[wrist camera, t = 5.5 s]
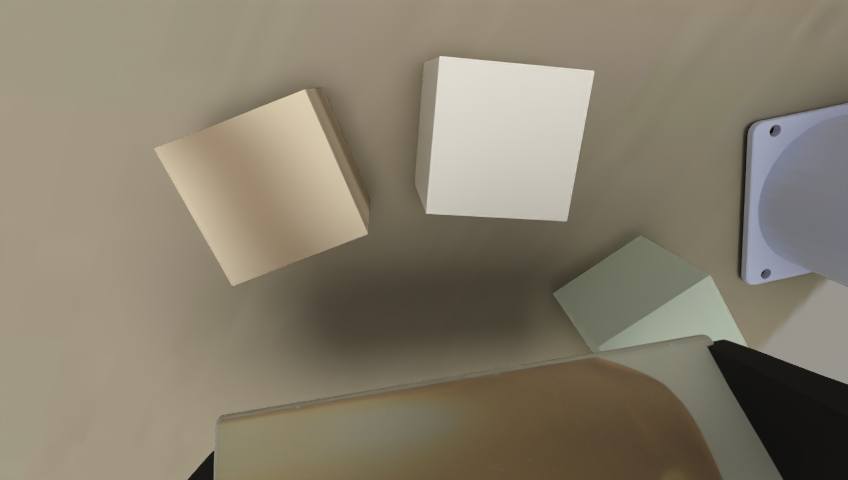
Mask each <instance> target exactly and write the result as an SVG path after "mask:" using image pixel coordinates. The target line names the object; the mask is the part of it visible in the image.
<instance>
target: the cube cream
mask: <svg viewBox="0 0 848 480" xmlns="http://www.w3.org/2000/svg"><path fill="white" fill-rule="evenodd" d="M593 77H594V71H592V70H581V69H570V68H560V67H549V66H539V65H528V64H518V63H507V62H497V61H486V60H476V59H465V58H455V57H444V56H439V57H436V58H434V59H432V60H429V61H427V62H424V67H423V80H422V93H421V106H420V119H419V132H418V145H417V158H416V171H415V187H416V189H417V192H418V194H419V197H420V200H421V202H422V205H423V207H424V210H425V212H426V214H440V215H458V216H477V217H495V218H514V219H532V220H550V221H567V218H568V213H569V208H570V202H571V197H572V191H573V186H574V180H575V175H576V169H577V164H578V159H579V153H580V148H581V142H582V137H583V131H584V126H585V120H586V115H587V110H588V104H589V99H590V93H591V88H592V82H593Z"/></svg>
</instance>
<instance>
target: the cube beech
mask: <svg viewBox="0 0 848 480" xmlns="http://www.w3.org/2000/svg"><path fill="white" fill-rule="evenodd" d="M155 151H156V153H157V155H158V157H159V158H160V160H161V162H162V164H163V165H164V167H165V169H166V171H167V172H168V174H169V176H170V178H171V179H172V181H173V183H174V185H175V186H176V188H177V190H178V192H179V193H180V195H181V197H182V199H183V200H184V202H185V204H186V206H187V207H188V209H189V211H190V213H191V214H192V216H193V218H194V220H195V221H196V223H197V225H198V227H199V228H200V230H201V232H202V234H203V236H204V237H205V239H206V241H207V243H208V244H209V246H210V248H211V250H212V251H213V253H214V255H215V257H216V258H217V260H218V262H219V264H220V265H221V267H222V269H223V271H224V272H225V274H226V276H227V278H228V279H229V281H230V283H231V285H232V286H235V285H237V284H240V283H242V282H245V281H248V280H250V279H253V278H255V277H258V276H261V275H263V274H266V273H268V272H271V271H274V270H276V269H279V268H281V267H284V266H287V265H289V264H292V263H294V262H297V261H300V260H302V259H305V258H307V257H310V256H313V255H315V254H318V253H320V252H323V251H326V250H328V249H331V248H333V247H336V246H339V245H341V244H344V243H346V242H349V241H352V240H354V239H357V238H359V237H362V236H365V235H367V234H368V229H369V211H370V198H369V196H368V193H367V191H366V189H365V186H364V184H363V182H362V179H361V177H360V175H359V172H358V170H357V167H356V165H355V163H354V160H353V158H352V156H351V153H350V151H349V149H348V146H347V144H346V141H345V139H344V137H343V134H342V132H341V130H340V127H339V125H338V123H337V120H336V118H335V115H334V113H333V111H332V108H331V106H330V104H329V101H328V99H327V97H326V94H325V92H324V89H323V87H322V88H312V89H304V90H302V91H299V92H297V93H294V94H292V95H289V96H287V97H284V98H281V99H279V100H276V101H274V102H271V103H269V104H266V105H264V106H261V107H259V108H256V109H254V110H251V111H249V112H246V113H243V114H241V115H238V116H236V117H233V118H231V119H228V120H226V121H223V122H221V123H218V124H216V125H213V126H211V127H208V128H206V129H203V130H200V131H198V132H195V133H193V134H190V135H188V136H185V137H183V138H180V139H178V140H175V141H173V142H170V143H168V144H165V145H163V146H160V147H157V148H155Z"/></svg>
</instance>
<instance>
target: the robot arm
mask: <svg viewBox="0 0 848 480" xmlns="http://www.w3.org/2000/svg"><path fill="white" fill-rule="evenodd" d="M772 126H773V127H774V130H773V132H772V134H771V135H770V129H771V128H772ZM763 270H765V271H764V273H763V274H762V275H761V273H762V271H763ZM812 272H814V273H817V274H819V275H821V276H824V277H826V278H828V279H830V280H833V281H835V282H838V283H840V284H842V285H844V286H847V287H848V103H844V104H840V105H835V106H830V107H825V108H820V109H815V110H810V111H805V112H800V113H796V114H791V115H786V116H781V117H776V118H771V119H766V120H761V121H758V122H755V123H754V124H753V125H752V126H751V127H750V129H749V131H748V139H747V161H746V183H745V205H744V226H743V248H742V270H741V277H742V280H743V281H744V282H746V283H748V284H750V285H756V284H761V283H765V282H770V281H775V280H779V279H784V278H789V277H793V276H798V275H802V274H807V273H812ZM713 343H714V344H713V345H710V346H707V347H708V349H709V351H710V353H711V355H712V357H713V358H714V360H715V362H716V364H717V366H718V368H719V369H720V371H721V373H722V375H723V377H724V379H725V381H726V383H727V384H728V386H729V388H730V390H731V391H732V393H733V395H734V396H735V398H736V400H737V401H738V403H739V405H740V406H741V408H742V410H743V412H744V413H745V415H746V417H747V418H748V420H749V422H750V423H751V425H752V427H753V429H754V430H755V432H756V434H757V435H758V437H759V439H760V440H761V442H762V444H763V446H764V447H765V449H766V451H767V452H768V454H769V456H770V458H771V459H772V461H773V463H774V465H775V466H776V468H777V470H778V471H779V473H780V475H781V477H782V478H783V480H848V384H845V383H842V382H839V381H836V380H834V379H831V378H828V377H825V376H822V375H819V374H817V373H814V372H811V371H809V370H806V369H804V368H801V367H798V366H796V365H793V364H790V363H788V362H785V361H783V360H780V359H777V358H774V357H772V356H769V355H767V354H764V353H762V352H759V351H756V350H754V349H751V348H748V347H746V346H743V345H740V344H737V343H734V342H731V341H728V340H725V339H723V340H718V341H713ZM188 480H214V451H213V452H212V453H211V454H210V455H209V456H208V457H207V458H206V459H205V461H204V462H203V463H202V464H201V465H200V466H199V467H198V468H197V470H196V471H195V472H194V473H193V474H192V475H191V477H190V478H189V479H188Z"/></svg>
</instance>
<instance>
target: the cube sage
mask: <svg viewBox="0 0 848 480" xmlns="http://www.w3.org/2000/svg"><path fill="white" fill-rule="evenodd" d="M553 295H554V297H555V298H556V299H557V301H558V302H559V304H560V305H561V307H562V308H563V310H564V311H565V313H566V314H567V316H568V317H569V319H570V320H571V322H572V323H573V325H574V326H575V328H576V329H577V331H578V332H579V333H580V335H581V336H582V338H583V339H584V341H585V342H586V344H587V345H588V347H589V348H590V350H591V351H592V353H595V352H601V351H607V350H613V349H619V348H625V347H631V346H636V345H642V344H648V343H654V342H659V341H665V340H671V339H677V338H683V337H688V336H695V335H701V334H704V335H707V336H709V337H710V338H711V339H712V341H718V340H723V339H725V340H728V341H731V342H734V343H737V344H740V345H743V346H746V347H748V346H747V344H746V342H745V340H744V339H743V337H742V335H741V333H740V331H739V329H738V327H737V325H736V323H735V321H734V319H733V317H732V316H731V314H730V312H729V310H728V308H727V306H726V304H725V302H724V300H723V298H722V296H721V294H720V292H719V291H718V289H717V287H716V285H715V283H714V281H713V279H712V277H711V275H710V274H708V273H706V272H705V271H703V270H701V269H699V268H698V267H696V266H694V265H692V264H691V263H689V262H687V261H685V260H684V259H682V258H680V257H678V256H677V255H675V254H673V253H671V252H670V251H668V250H666V249H664V248H663V247H661V246H659V245H657V244H656V243H654V242H652V241H650V240H649V239H647V238H645V237H643V236H642V235H640V236H638V237H637V238H635V239H634V240H632V241H631V242H629V243H628V244H626V245H625V246H623V247H622V248H620V249H619V250H617V251H616V252H614V253H613V254H611V255H610V256H608V257H607V258H605V259H604V260H602V261H601V262H599V263H598V264H596V265H595V266H593V267H592V268H590V269H589V270H587V271H586V272H584V273H583V274H581V275H580V276H578V277H577V278H575V279H574V280H572V281H571V282H569V283H568V284H566V285H565V286H563V287H562V288H560V289H559V290H557V291H556V292H554V293H553Z"/></svg>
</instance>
